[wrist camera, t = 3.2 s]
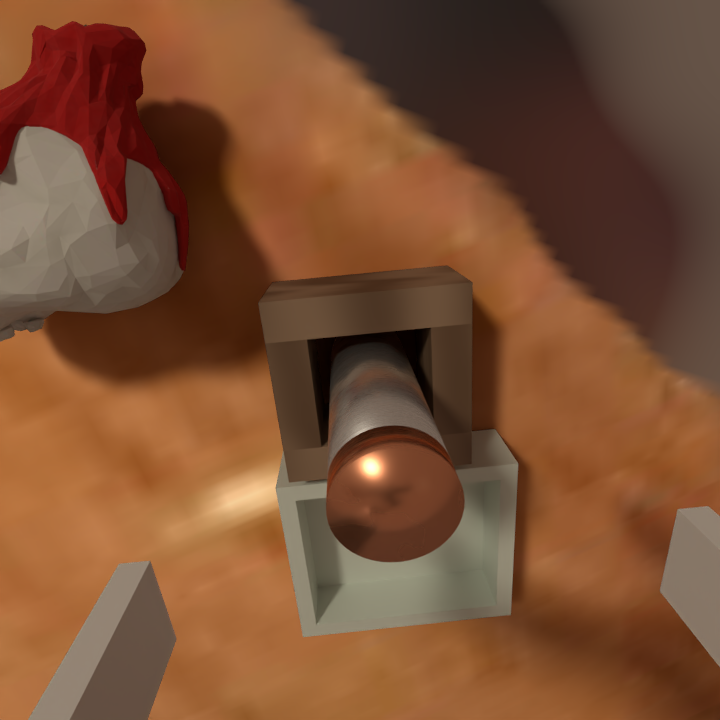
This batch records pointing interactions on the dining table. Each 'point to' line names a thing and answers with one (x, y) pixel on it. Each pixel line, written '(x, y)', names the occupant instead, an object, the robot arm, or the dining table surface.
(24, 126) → the candle
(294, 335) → the block
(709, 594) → the robot arm
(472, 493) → the tray
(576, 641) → the dining table surface
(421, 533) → the pin
